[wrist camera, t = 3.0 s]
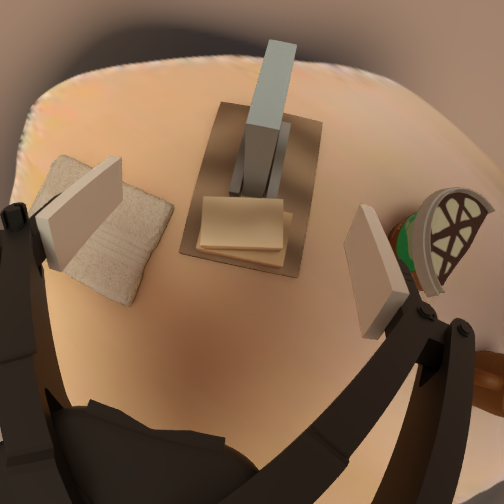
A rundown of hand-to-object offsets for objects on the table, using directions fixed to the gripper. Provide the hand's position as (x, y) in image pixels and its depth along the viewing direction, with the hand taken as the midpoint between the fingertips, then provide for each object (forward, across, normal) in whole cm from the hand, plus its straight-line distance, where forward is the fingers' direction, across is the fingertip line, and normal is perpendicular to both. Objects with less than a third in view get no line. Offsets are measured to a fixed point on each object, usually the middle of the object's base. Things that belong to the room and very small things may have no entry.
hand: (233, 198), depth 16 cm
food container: (+14, +19, -8) cm, 25 cm away
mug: (+3, +33, -19) cm, 38 cm away
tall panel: (+16, +1, -4) cm, 17 cm away
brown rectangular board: (+16, +1, -6) cm, 17 cm away
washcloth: (+11, -17, -12) cm, 23 cm away
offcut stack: (+11, +1, -10) cm, 14 cm away
